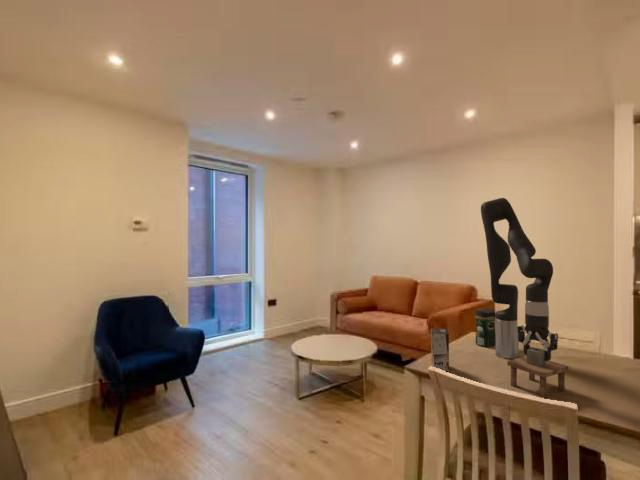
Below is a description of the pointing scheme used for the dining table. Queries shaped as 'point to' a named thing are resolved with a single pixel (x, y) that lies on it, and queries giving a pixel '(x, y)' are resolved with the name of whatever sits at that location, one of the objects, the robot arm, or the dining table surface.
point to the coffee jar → (485, 327)
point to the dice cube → (535, 356)
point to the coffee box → (440, 348)
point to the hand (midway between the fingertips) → (537, 357)
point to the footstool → (538, 373)
